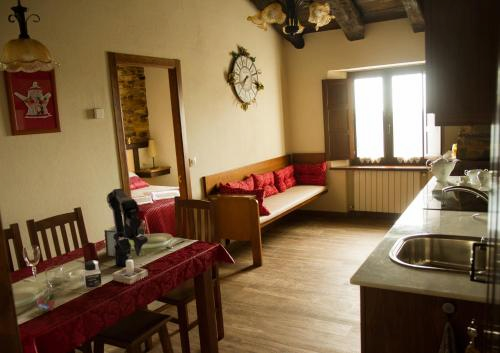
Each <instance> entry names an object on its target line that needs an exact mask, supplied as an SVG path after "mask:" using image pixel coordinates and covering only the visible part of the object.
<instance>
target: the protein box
mask: <svg viewBox="0 0 500 353" xmlns="http://www.w3.org/2000/svg"><path fill="white" fill-rule="evenodd" d="M123 226H124V222H123ZM115 233H116V231H115V225H113V226H111V227H108V228H105V229H104V243H105V255H106V256H109V257H114V258H115V256H114V255H113V252H112V250H113V247H114V241H115V239H114V234H115ZM129 243H130V245H131V248H133V247H134V241H133V240H129Z"/></svg>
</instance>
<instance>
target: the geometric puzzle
mask: <svg viewBox="0 0 500 353" xmlns="http://www.w3.org/2000/svg"><path fill="white" fill-rule="evenodd" d="M45 296H46V297H45V298H44V296H39V297H38V299H37V300H36V306H37V308H38V310H40V311H41V314H43V313H44V312H45V311H46V310H50V311H53V309H54V307H55V304H56V301H55V300H54V298H53V297H51V298H52V300H50V296H52V295H51V294H49V295H45ZM40 308H42V310H41V309H40Z"/></svg>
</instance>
